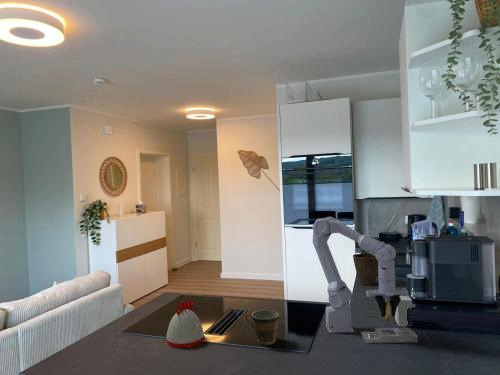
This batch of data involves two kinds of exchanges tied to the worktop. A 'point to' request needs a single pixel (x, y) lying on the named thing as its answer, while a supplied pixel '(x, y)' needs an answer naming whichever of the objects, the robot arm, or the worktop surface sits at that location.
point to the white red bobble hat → (185, 327)
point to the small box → (403, 310)
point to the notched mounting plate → (390, 335)
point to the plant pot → (366, 268)
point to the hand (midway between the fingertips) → (387, 316)
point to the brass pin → (388, 311)
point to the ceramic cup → (265, 325)
